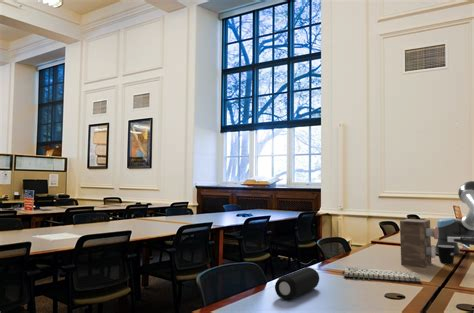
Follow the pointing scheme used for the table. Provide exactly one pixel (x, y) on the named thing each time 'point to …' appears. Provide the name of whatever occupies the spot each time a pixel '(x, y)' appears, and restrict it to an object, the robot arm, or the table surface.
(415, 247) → the key console
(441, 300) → the table surface
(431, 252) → the white rounded piece
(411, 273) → the mechanical keyboard
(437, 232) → the terracotta key
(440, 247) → the mug
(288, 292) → the portable speaker
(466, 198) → the robot arm
